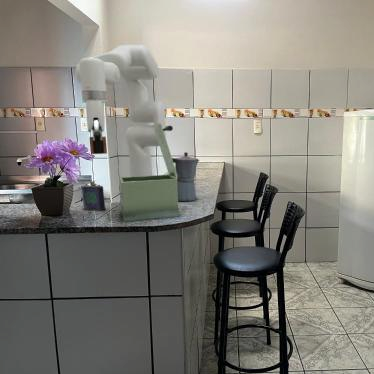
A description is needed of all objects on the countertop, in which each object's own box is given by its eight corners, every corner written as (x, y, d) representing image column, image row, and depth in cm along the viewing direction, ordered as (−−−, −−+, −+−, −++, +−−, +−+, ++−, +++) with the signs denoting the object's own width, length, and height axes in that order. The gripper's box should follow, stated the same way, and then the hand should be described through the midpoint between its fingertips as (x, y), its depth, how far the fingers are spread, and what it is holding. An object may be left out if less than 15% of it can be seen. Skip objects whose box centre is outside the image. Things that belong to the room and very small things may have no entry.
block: (91, 153, 124) (90, 136, 124) (107, 152, 126) (105, 136, 125) (90, 154, 120) (89, 137, 119) (106, 153, 122) (105, 136, 121)
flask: (82, 209, 136) (79, 181, 135) (87, 207, 139) (85, 180, 138) (102, 210, 134) (100, 182, 132) (107, 209, 136) (105, 181, 135)
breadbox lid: (158, 123, 116) (172, 119, 118) (152, 124, 130) (165, 121, 131) (175, 178, 121) (189, 173, 122) (168, 173, 134) (180, 169, 136)
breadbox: (123, 221, 116) (121, 182, 114) (121, 212, 130) (119, 177, 128) (178, 216, 123) (177, 178, 121) (171, 208, 136) (169, 174, 134)
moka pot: (206, 198, 155) (204, 152, 152) (175, 204, 144) (173, 153, 141) (193, 196, 161) (191, 151, 158) (162, 201, 151) (160, 153, 148)
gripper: (83, 99, 127) (88, 151, 130) (80, 95, 111) (85, 154, 114) (106, 99, 129) (110, 150, 132) (106, 95, 114) (111, 153, 117)
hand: (99, 152), depth 123 cm, fingers closed on block, 5 cm apart
